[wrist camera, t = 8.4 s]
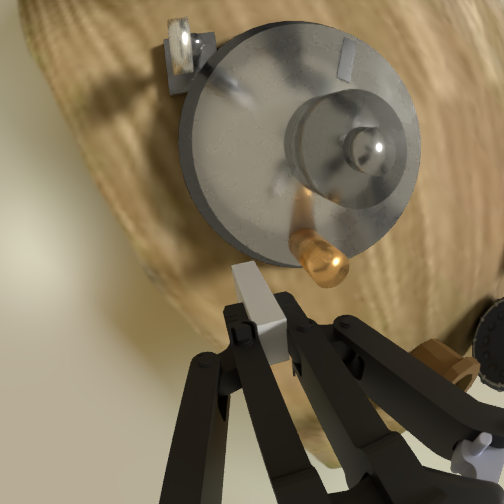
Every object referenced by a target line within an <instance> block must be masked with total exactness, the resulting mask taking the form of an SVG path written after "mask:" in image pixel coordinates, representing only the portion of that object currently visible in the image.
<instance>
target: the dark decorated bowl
mask: <svg viewBox="0 0 504 504" xmlns="http://www.w3.org/2000/svg"><path fill="white" fill-rule="evenodd" d="M472 356H473V357H474V358H475V359H476V360H477V361H478V362H479V363H480V371H479V374H478V376H479V377H480V379H481V382H482V383H483V384H486V385H487V386H489V387H490V388H493V389H495V390H497V391H498V392H502V391H504V297H503V298H501V299H496V300H495V301H494V303H493V304H492V305H491V306H490V307H489V309H488V310H487V311H486V312H485V313H484V314H483V315H482V316H481V317H480V319H479V324H478V326H477V328H476V331H475V334H474V337H473V338H472Z"/></svg>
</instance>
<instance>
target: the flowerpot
mask: <svg viewBox="0 0 504 504" xmlns="http://www.w3.org/2000/svg"><path fill="white" fill-rule="evenodd" d="M411 355H412V356H414V357H415V358H417V359H418V360H419V361H421V362H422V363H424V364H425V365H427V366H428V367H430V368H431V369H433V370H434V371H435V372H437V373H438V374H440V375H441V376H443V377H444V378H446V379H447V380H448V381H450V382H451V383H453V384H454V385H456V386H457V387H459V388H460V389H461V390H463V391H464V392H467V390H468V389H469V388H470V387H471V386H472V384H473V382H474V380H475V379H476V377H477V375H478V374H479V371H480V363H479V362H478V361H477V360H476V359H475V358H474V357H465V358H463V357H462V356H460V355H459V354H458V353H456V352H455V351H453V350H452V349H451V348H449V347H448V346H446V345H445V344H444V343H442V342H441V341H439V340H437V339H430V340H428V341H426V342H424V343H422V344H421V345H420V346H418V347H417V348H416V349H415V350H414V351H413V352H412V353H411Z"/></svg>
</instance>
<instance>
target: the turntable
mask: <svg viewBox="0 0 504 504" xmlns="http://www.w3.org/2000/svg"><path fill="white" fill-rule="evenodd" d="M348 89H361V90H366V91H369V92H372V93H374V94H376V95H378V96H379V97H381V98H382V99H384V100H385V101H386V102H387V103H388V104H389V105H390V106H391V107H392V108H393V110H394V111H395V112H396V114H397V115H398V117H399V119H400V121H401V123H402V126H403V128H404V132H405V136H406V141H407V160H406V166H405V170H404V173H403V176H402V178H401V180H400V182H399V184H398V185H397V187H396V189H395V190H394V191H393V192H392V194H391V195H390V196H389V197H388V198H386V199H385V200H384V201H383V202H381V203H379V204H378V205H375V206H373V207H370V208H366V209H359V210H358V209H349V208H345V207H342V206H340V205H338V204H336V203H334V202H332V201H330V200H328V199H326V198H324V197H322V196H320V195H318V194H315V193H313V192H312V191H310V190H308V189H307V188H305V187H304V186H303V185H302V184H301V183H299V182H298V180H297V179H296V178H295V177H294V175H293V173H292V172H291V170H290V168H289V166H288V163H287V160H286V156H285V151H284V137H285V132H286V128H287V125H288V122H289V120H290V118H291V116H292V115H293V113H294V112H295V111H296V110H297V109H298V107H299V106H301V105H302V104H303V103H304V102H306V101H308V100H309V99H312V98H314V97H317V96H321V95H325V94H329V93H333V92H338V91H342V90H348ZM192 152H193V159H194V165H195V170H196V174H197V177H198V180H199V184H200V187H201V189H202V191H203V194H204V196H205V198H206V200H207V202H208V204H209V206H210V207H211V209H212V211H213V212H214V214H215V215H216V217H217V218H218V220H219V221H220V222H221V223H222V224H223V226H224V227H225V228H226V229H227V230H228V231H229V232H230V233H231V234H232V235H233V236H234V237H235V238H236V239H237V240H239V241H240V242H241V243H242V244H244V245H245V246H247V247H248V248H250V249H251V250H253V251H254V252H256V253H258V254H260V255H262V256H264V257H266V258H268V259H271V260H274V261H278V262H281V263H284V264H290V265H295V266H302V267H303V268H304V269H305V270H306V271H307V273H308V274H309V275H310V276H311V277H312V279H313V280H314V281H315V282H316V283H317V284H318V285H319V286H320V287H322V288H332V287H335V286H337V285H339V284H340V283H341V282H342V281H343V280H344V279H345V277H346V276H347V274H348V271H349V261H348V259H349V258H352V257H353V256H355V255H357V254H359V253H361V252H363V251H365V250H366V249H368V248H369V247H371V246H372V245H374V244H375V243H376V242H377V241H378V240H380V239H381V238H382V237H383V236H384V235H385V234H386V233H387V232H388V231H389V230H390V229H391V228H392V226H393V225H394V224H395V223H396V221H397V220H398V219H399V217H400V216H401V214H402V213H403V211H404V209H405V207H406V206H407V204H408V202H409V199H410V197H411V195H412V192H413V190H414V187H415V183H416V180H417V176H418V171H419V166H420V156H421V137H420V129H419V123H418V119H417V114H416V111H415V108H414V105H413V102H412V99H411V97H410V95H409V93H408V91H407V89H406V87H405V85H404V83H403V82H402V80H401V78H400V77H399V75H398V74H397V72H396V71H395V70H394V69H393V67H392V66H391V65H390V64H389V63H388V61H387V60H386V59H384V58H383V57H382V56H381V55H380V54H379V53H378V52H377V51H376V50H375V49H373V48H372V47H371V46H369V45H368V44H366V43H365V42H363V41H362V40H360V39H358V38H356V37H355V36H353V35H351V34H348V33H346V32H343V31H341V30H338V29H335V28H331V27H327V26H323V25H315V24H289V25H284V26H278V27H274V28H271V29H268V30H265V31H262V32H260V33H258V34H256V35H254V36H252V37H250V38H248V39H246V40H245V41H243V42H242V43H240V44H239V45H238V46H236V47H235V48H234V49H233V50H231V51H230V52H229V53H228V54H227V55H226V56H225V57H224V58H223V59H222V61H221V62H220V63H219V64H218V65H217V67H216V68H215V69H214V71H213V72H212V74H211V75H210V77H209V78H208V80H207V82H206V84H205V86H204V88H203V90H202V93H201V95H200V98H199V101H198V104H197V108H196V111H195V116H194V122H193V129H192Z"/></svg>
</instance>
